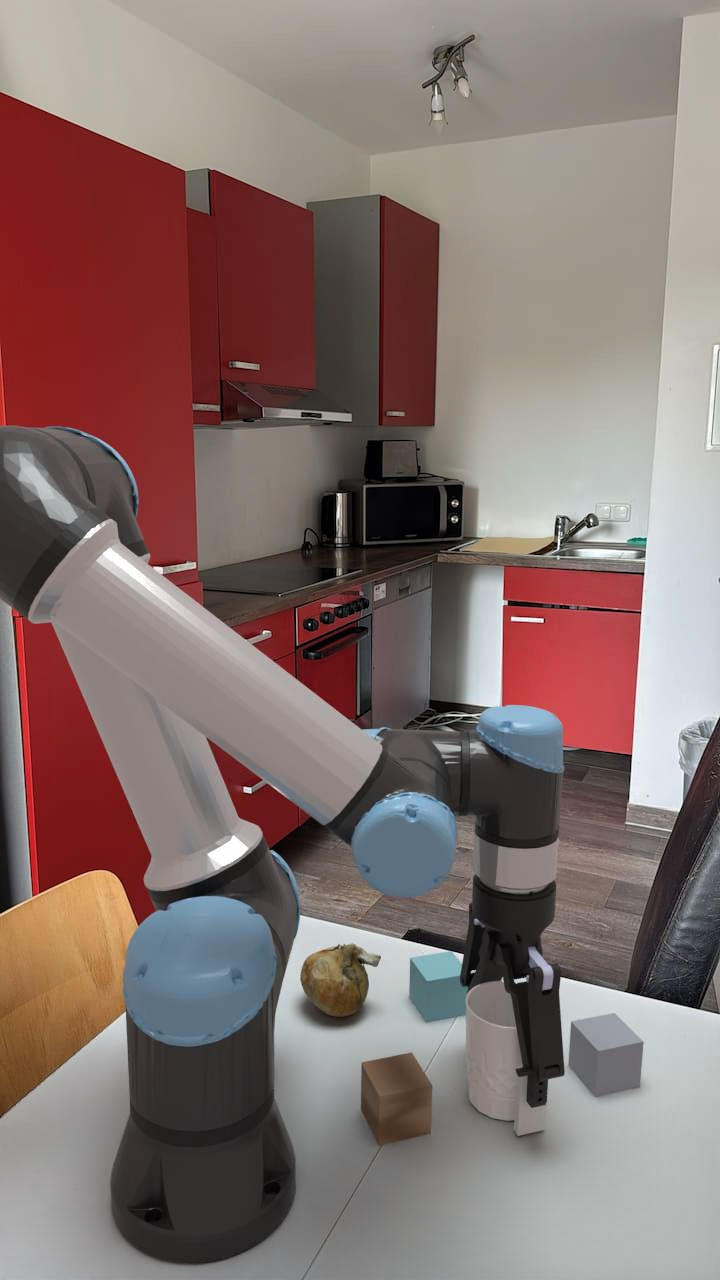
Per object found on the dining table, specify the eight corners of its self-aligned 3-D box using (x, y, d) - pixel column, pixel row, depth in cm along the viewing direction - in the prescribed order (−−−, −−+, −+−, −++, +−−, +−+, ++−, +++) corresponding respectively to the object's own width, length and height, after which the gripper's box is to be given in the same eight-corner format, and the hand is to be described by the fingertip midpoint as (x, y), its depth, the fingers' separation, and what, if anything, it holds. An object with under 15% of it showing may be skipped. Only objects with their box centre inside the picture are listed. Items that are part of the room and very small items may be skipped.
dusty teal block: (425, 1023, 103) (427, 981, 102) (409, 998, 108) (410, 957, 107) (468, 1015, 105) (469, 973, 104) (449, 991, 109) (451, 951, 108)
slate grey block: (595, 1097, 92) (598, 1051, 91) (568, 1066, 96) (571, 1021, 95) (639, 1087, 93) (643, 1041, 92) (611, 1057, 98) (614, 1012, 97)
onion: (343, 980, 111) (344, 917, 109) (384, 1014, 105) (386, 947, 103) (287, 1001, 107) (287, 935, 105) (327, 1037, 100) (327, 968, 99)
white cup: (551, 1127, 87) (557, 1029, 85) (465, 1125, 88) (469, 1026, 86) (537, 1072, 95) (543, 981, 93) (458, 1070, 95) (462, 979, 93)
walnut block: (378, 1146, 85) (379, 1096, 84) (360, 1110, 89) (361, 1062, 88) (430, 1134, 86) (432, 1085, 85) (410, 1099, 91) (411, 1052, 90)
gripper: (618, 927, 78) (601, 1167, 82) (498, 826, 98) (489, 1023, 103) (536, 940, 75) (523, 1187, 80) (430, 835, 96) (424, 1036, 100)
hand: (504, 1095), depth 91 cm, fingers open, 9 cm apart
